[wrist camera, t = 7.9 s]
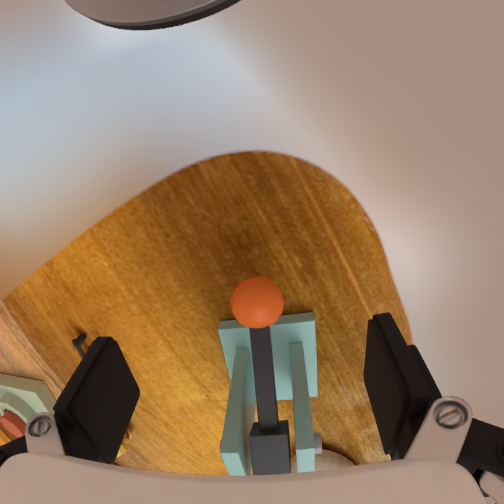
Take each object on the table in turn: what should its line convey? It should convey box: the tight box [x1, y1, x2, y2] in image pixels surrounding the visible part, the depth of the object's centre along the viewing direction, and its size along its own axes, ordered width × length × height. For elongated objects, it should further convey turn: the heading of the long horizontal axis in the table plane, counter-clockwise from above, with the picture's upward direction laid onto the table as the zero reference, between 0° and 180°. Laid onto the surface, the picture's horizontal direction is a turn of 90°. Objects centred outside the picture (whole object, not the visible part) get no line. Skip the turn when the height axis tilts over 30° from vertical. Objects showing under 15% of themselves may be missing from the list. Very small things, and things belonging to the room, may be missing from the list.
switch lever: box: [231, 277, 291, 475], centre depth 18 cm, size 12×3×3 cm, turn 8°
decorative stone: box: [291, 449, 355, 473], centre depth 30 cm, size 6×16×3 cm, turn 39°
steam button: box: [1, 410, 26, 437], centre depth 27 cm, size 4×4×2 cm
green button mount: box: [0, 373, 56, 423], centre depth 29 cm, size 12×9×4 cm
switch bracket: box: [218, 312, 322, 476], centre depth 20 cm, size 8×7×11 cm
